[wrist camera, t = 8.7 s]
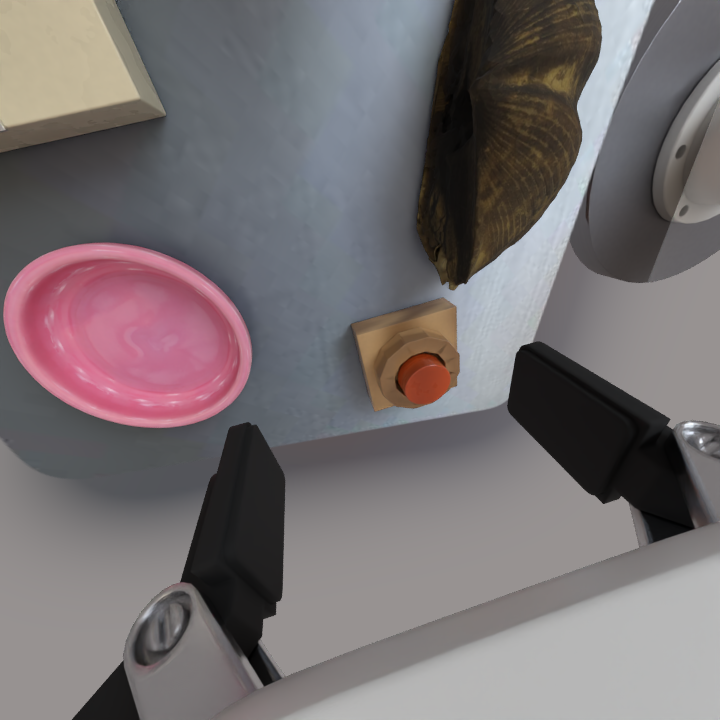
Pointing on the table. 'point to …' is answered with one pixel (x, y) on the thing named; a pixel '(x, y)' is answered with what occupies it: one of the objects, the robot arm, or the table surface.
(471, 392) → the table surface
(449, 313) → the button block
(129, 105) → the cream flat block
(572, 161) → the seashell
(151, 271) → the saucer
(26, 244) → the table surface
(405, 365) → the button
